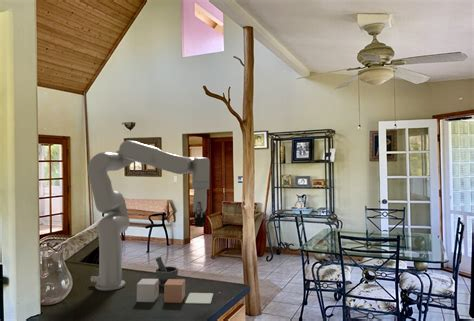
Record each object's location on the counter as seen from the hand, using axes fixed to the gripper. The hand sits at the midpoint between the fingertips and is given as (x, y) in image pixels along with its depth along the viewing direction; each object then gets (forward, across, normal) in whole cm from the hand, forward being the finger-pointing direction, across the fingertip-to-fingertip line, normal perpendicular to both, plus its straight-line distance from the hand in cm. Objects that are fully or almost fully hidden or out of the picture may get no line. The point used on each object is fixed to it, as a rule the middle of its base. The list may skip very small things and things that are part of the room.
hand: (200, 224), depth 160 cm
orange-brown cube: (+28, +11, -9) cm, 32 cm away
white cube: (+28, +11, -20) cm, 36 cm away
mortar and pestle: (+29, -7, -16) cm, 34 cm away
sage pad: (+28, +10, +1) cm, 30 cm away
